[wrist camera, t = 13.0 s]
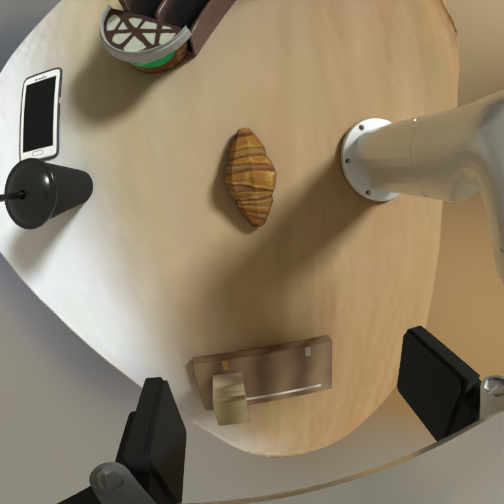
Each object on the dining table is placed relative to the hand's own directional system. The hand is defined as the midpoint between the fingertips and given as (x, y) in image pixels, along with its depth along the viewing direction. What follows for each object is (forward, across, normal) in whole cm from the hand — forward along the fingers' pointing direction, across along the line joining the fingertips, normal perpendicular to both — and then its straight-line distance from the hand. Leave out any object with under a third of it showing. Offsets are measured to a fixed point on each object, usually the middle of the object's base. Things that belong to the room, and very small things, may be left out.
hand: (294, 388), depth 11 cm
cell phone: (+34, +28, -23) cm, 50 cm away
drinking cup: (+33, +22, -10) cm, 41 cm away
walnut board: (+33, -1, +24) cm, 41 cm away
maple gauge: (+31, +5, +24) cm, 40 cm away
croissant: (+34, -2, -7) cm, 34 cm away
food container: (+33, +10, -27) cm, 44 cm away
